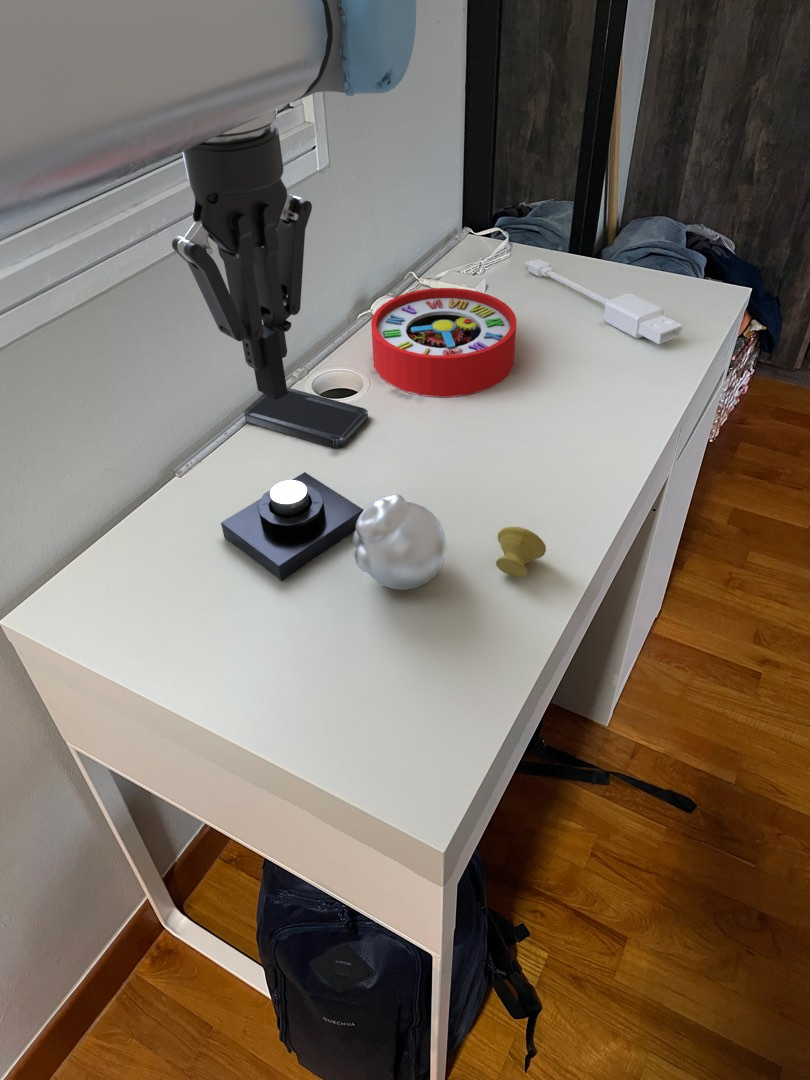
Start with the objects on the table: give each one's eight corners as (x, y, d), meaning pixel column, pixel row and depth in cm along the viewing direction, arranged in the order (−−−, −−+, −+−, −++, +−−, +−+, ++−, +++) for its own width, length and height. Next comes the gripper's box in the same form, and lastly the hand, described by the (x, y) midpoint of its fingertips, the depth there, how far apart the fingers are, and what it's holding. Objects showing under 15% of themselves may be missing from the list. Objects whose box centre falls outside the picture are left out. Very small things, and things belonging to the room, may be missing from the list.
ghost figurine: (385, 535, 89) (380, 462, 83) (461, 564, 86) (463, 491, 79) (338, 587, 84) (329, 513, 77) (418, 621, 80) (415, 547, 73)
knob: (501, 546, 88) (503, 510, 84) (547, 559, 86) (551, 524, 82) (484, 574, 84) (486, 539, 81) (532, 589, 83) (536, 553, 79)
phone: (340, 442, 100) (240, 413, 106) (340, 450, 101) (241, 420, 106) (371, 409, 105) (274, 383, 111) (372, 417, 106) (275, 390, 111)
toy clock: (497, 281, 121) (533, 349, 106) (496, 318, 125) (530, 388, 110) (363, 295, 119) (380, 365, 104) (365, 331, 123) (383, 404, 108)
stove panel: (281, 581, 85) (276, 553, 82) (223, 537, 90) (217, 510, 87) (365, 524, 91) (363, 496, 88) (306, 486, 96) (302, 459, 93)
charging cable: (540, 268, 139) (541, 249, 136) (681, 340, 117) (685, 318, 115) (516, 276, 137) (516, 256, 135) (655, 350, 115) (659, 328, 113)
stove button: (288, 524, 86) (286, 509, 85) (264, 507, 88) (261, 492, 87) (317, 505, 88) (315, 490, 87) (293, 489, 90) (291, 475, 89)
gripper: (264, 98, 68) (299, 352, 84) (127, 139, 61) (193, 406, 77) (324, 115, 64) (349, 378, 80) (184, 161, 57) (242, 437, 73)
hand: (272, 391), depth 78 cm, fingers closed
